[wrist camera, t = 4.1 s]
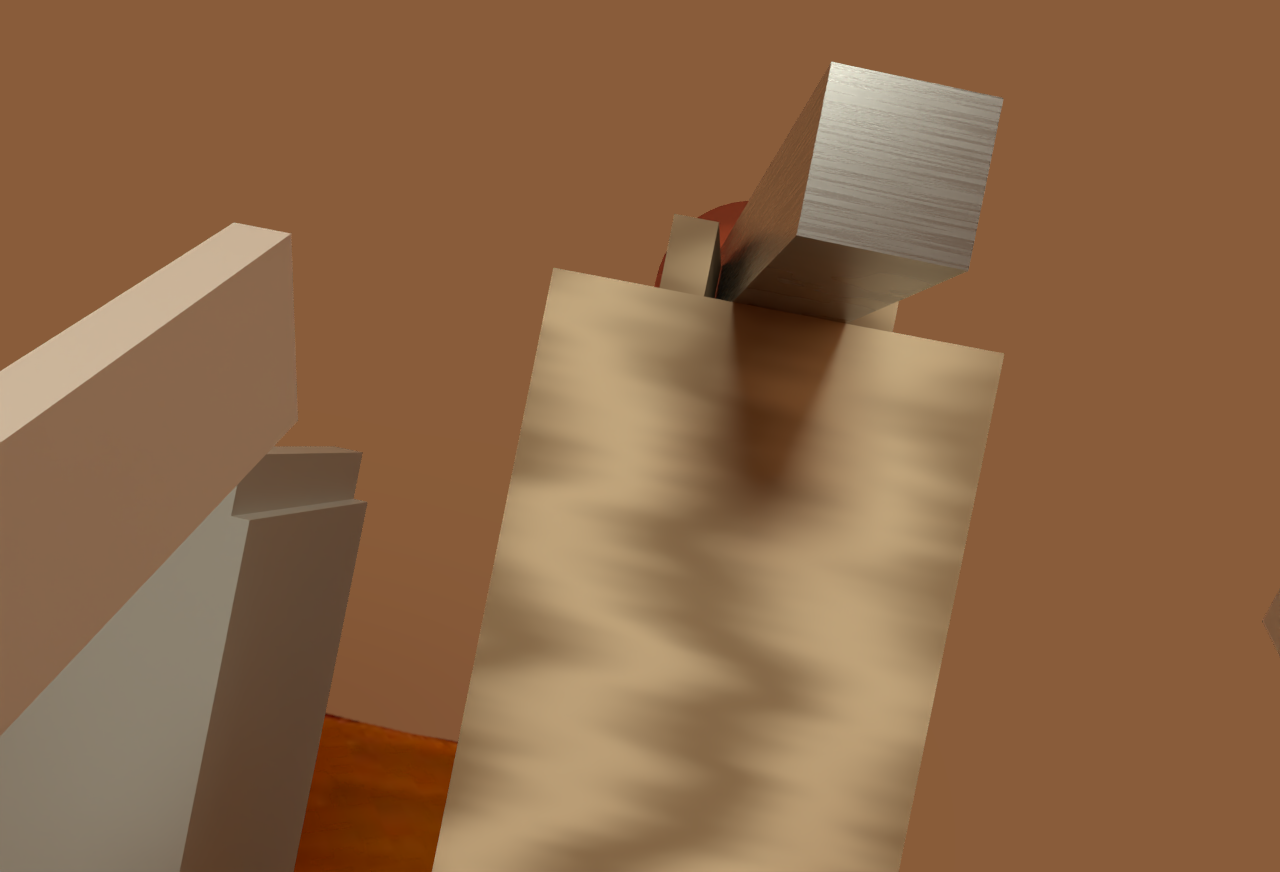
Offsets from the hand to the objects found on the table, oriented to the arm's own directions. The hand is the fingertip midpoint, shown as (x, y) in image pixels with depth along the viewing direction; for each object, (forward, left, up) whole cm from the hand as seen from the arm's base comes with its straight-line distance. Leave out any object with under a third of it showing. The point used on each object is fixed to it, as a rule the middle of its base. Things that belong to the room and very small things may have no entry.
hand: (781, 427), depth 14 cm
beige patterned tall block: (0, +18, -27) cm, 32 cm away
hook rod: (0, +16, +1) cm, 16 cm away
